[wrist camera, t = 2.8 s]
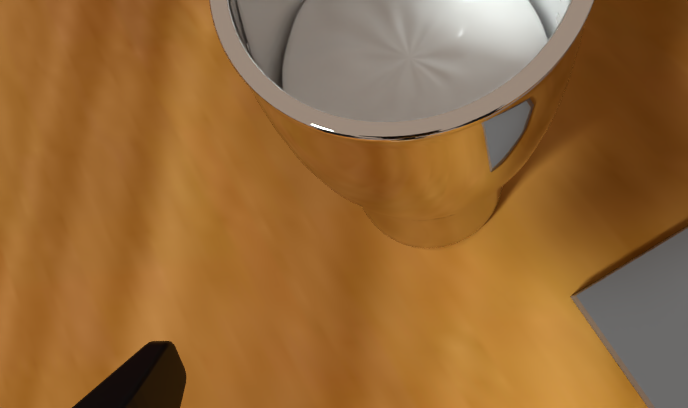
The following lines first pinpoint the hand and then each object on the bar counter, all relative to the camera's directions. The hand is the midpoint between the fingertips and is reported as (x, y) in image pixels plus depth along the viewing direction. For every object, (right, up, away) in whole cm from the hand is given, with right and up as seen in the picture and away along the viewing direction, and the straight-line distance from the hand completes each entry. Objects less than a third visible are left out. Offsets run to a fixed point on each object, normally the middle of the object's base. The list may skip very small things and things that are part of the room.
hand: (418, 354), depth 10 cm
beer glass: (+2, +4, +14) cm, 15 cm away
